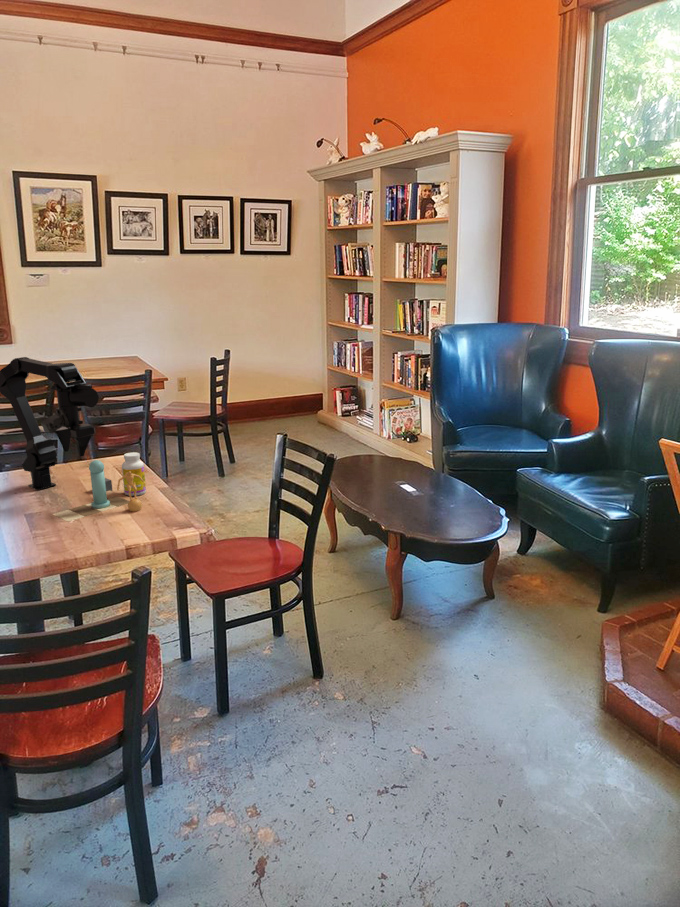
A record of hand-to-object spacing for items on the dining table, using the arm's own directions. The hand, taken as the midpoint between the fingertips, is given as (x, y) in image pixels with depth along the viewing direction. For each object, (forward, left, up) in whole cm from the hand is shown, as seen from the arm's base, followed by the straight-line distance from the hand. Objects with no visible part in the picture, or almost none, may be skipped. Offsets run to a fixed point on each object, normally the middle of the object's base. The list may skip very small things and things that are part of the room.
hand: (74, 453), depth 213 cm
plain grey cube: (+5, +6, -13) cm, 15 cm away
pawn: (+18, -3, -12) cm, 22 cm away
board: (+18, -5, -13) cm, 23 cm away
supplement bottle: (+14, +11, -13) cm, 22 cm away
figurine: (+28, +2, -13) cm, 31 cm away
